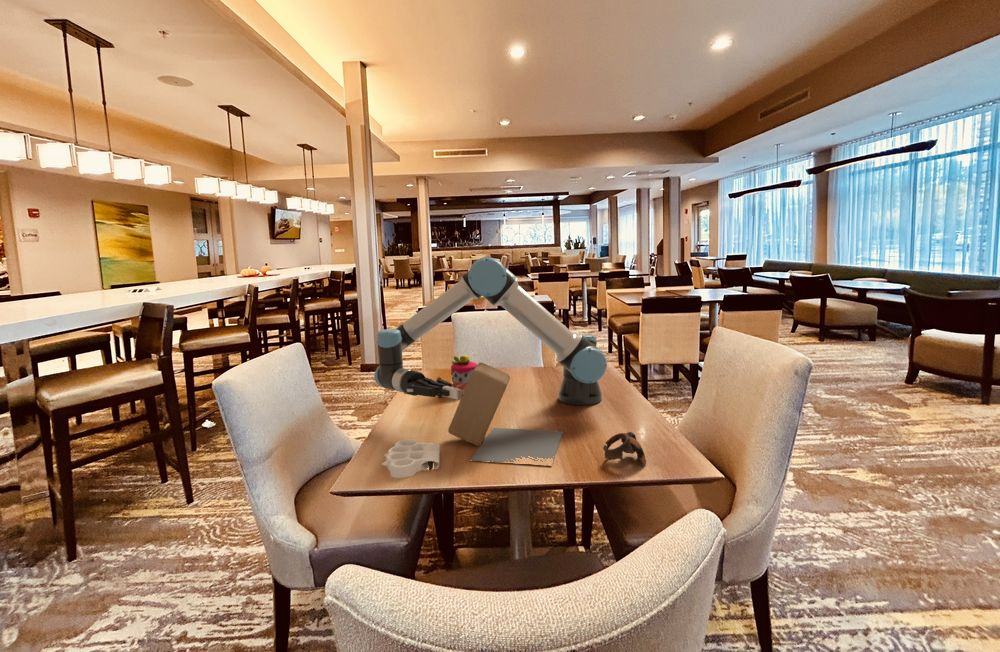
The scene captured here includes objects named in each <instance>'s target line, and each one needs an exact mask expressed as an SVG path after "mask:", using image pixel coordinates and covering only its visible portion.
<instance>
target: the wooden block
mask: <svg viewBox="0 0 1000 652" xmlns="http://www.w3.org/2000/svg"><path fill="white" fill-rule="evenodd" d="M477 364H478V365H477V366H476V368H475V369H474V370H473V372H472V374H471V377H470V379H469V381H468V384H467V386H466V388H465V391H464V393H463V396H462V398H461V399H459V403H458V406H457V408H456V410H455V413H454V415H453V418H452V419H451V422H450V424H449V426H448V431H447V432H448V434H449V435H452V436H454V437H456V438H459V439H461V440H463V441H465V442H466V443H467V442H468V443H470V444H472V445H475V446H477V447H480V446H481V445H482V443H483V442H484V440H485V438H486V437H485V436H486V434H487V432H488V430H489V427H490V425H491V423H492V421H493V419H494V417H495V414H496V412H497V409H498V408H499V405H500V404H501V400H502V398H503V395H504V394H505V392H506V389H507V387H508V384H509V382H510V380H511V376H510V375H509V373H506V372H504V371H503V370H499V369H497V368H495V367H494V366H490V365H488V364H487V363H484V362H478V363H477Z"/></svg>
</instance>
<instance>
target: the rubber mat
mask: <svg viewBox="0 0 1000 652" xmlns="http://www.w3.org/2000/svg"><path fill="white" fill-rule="evenodd" d="M562 434H564V431H562V430H543V429H541V430H540V429H524V428H522V429H521V428H505V427H504V428H503V427H493V428H491V430H490V432H489V433H488V435H487V436H486V437H485V438H484V439H483V441H482V444H481V445H480V446H478V448H477V450H476V452H474V454H473V456H471V458H470V460H472V461H471V462H473V461H490V462H492V461H493V462H505V461H506V462H508V461H509V462H514V461H513V460H515V461H516V459H515V458H520V459H522V457H525V458H529V457H528V456H530V457H533V458H535V459H537V457H538V458H543V459H545V458H546V459H548V458H550V459H551V458H554V457H556V455H557V452H558V449H559V447H560V443H561V441H562V438H561V437H563V435H562ZM557 448H558V449H557ZM556 451H557V452H556ZM555 454H556V455H555ZM521 456H522V457H521ZM553 456H554V457H553ZM507 459H508V460H507ZM511 459H513V460H511ZM529 459H532V458H529ZM535 459H532V460H534V461H538V460H539V459H538V460H535ZM554 459H555V458H554ZM518 461H519V460H518ZM540 461H542V460H540ZM545 461H546V460H545ZM542 462H543V461H542Z"/></svg>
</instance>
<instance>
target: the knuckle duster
mask: <svg viewBox="0 0 1000 652" xmlns="http://www.w3.org/2000/svg"><path fill="white" fill-rule="evenodd" d="M440 446H441V445H439V444H438V443H436V442H419V441H418V440H417V439H411V438H410V439H408V438H406V439H401V440H399V441H397V442H395V445H394V446H392V447H390V448H389V449H388V451H387V453H385V454H384V455H383V456H384V457H385V458H386V460H385V461H384V462H382V463H381V464H380V465H381V466H385V467H386V468H387V470H388V471H389V473H390V477H392V478H394V477H396V478H395V479H406V478H410V477H413V476H414V475H416V473H418V472H422V471H421V470H424V471H426V470H428V469H427V468H428V461H429V462H433V461H434V469H435V470H437V469H439V467H440V457H441V455H440V452H441V447H440ZM409 476H410V477H409ZM405 477H406V478H405Z"/></svg>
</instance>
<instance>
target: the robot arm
mask: <svg viewBox="0 0 1000 652" xmlns="http://www.w3.org/2000/svg"><path fill="white" fill-rule="evenodd" d="M482 297H483V298H484V299H485V300H487V302H489V303H490V304H491V305H493V306H495V307H496V306H500V307H501V308H502V309H505V310H506V312H508V313H509V314H510V315H511V316H512V317H513V318H514V319H515V320H517V321H518V322H519V323H520V325H521V324H522V326H524V327H525V328H526V329H527V330H528V331H529V332H530V333H532V334H533V335H534V337H536V338H537V339H538V340H540V341H541V342H542V343H543V344H544V345H546V346H547V348H549V349H550V350H552V352H553V353H555V355H556V361H557V362H558V363H559V364H560V365H562V368H563V369H562V370H563V371H562V372H563V378H562V381H561V385H560V388H559V391H558V400H559V401H560V402H561V403H564V404H568V405H574V406H575V405H576V406H588V405H589V406H590V405H595V404H598V403H600V402H601V401H602V400H603V394H602V390H601V388H600V383H599V380H601V379H602V378H603V376H604V375H605V374H606V372H607V367H608V362H607V358H606V356H605V353H603V351H602V350H600V349H599V348H598V347H597V344H598V341H597V336H595V335H593V334H591V335H590V334H589V335H587V334H585V335H584V334H582V333H573V332H572V331H571V330H570V328H568V327H567V326H566V325H564V324H563V323H562V322H561V321H560V320H559V319H558V318H556V317H555V315H553V314H552V313H551V312H549V311H548V309H546V308H545V307H544V306H543V305H542V304H541V303H540V302H538V301H537V300H536V299H535V298H533V297H532V296H531V294H529V292H527V291H526V290H525V289H523V287H522V286H520V285H519V279H518V277H517V276H516V275H515V274H514V273H513V272H511V271H510V270H509V269H508V268H507V267H506V266H505V265H504V264H503V263H502V262H501V261H500V260H498V259H497V258H494V257H491V256H484V257H480V258H478V259H476V260H475V261H474V262H473V263H472V265H471V266H470V268H469V270H468V271H467V272H466V273H464V274H462V275H461V277H460V280H459V281H458V282H456V283H455V284H454V285H453V286H451V287H450V288H448V289H447V290H446V291H445V292H443V293H442V294H441V295H439V296H438V297H436V298H435V299H433V301H431V302H430V303H428V304H427V305H426V306H424V307H423V308H421V309H420V310H419V311H418V312H416V313H415V314H413V315H412V316H411V317H410V318H407V320H406V321H404V322H403V323H402V324H400V325H399V326H397V327H396V328H386V329H383V330H382V329H381V330H379V331H378V332H377V337H376V338H377V339H376V340H377V341H376V344H377V351H378V366H377V367H376V369H375V371H374V375H373V379H374V381H375V383H376V384H377V385H378V386H380V387H382V388H384V389H386V390H387V389H388V390H392V391H396V392H399V393H403V394H404V395H409V396H414V397H415V396H423V397H429V398H436V396H437V397H438V399H443V397H444V398H445V397H446V398H448V399H453V400H457V401H458V400H459V401H460V400H461V398H462V393H461V389H458V388H454V387H452V384H453V383H451V382H449V381H447V380H444V379H442V378H441V377H439V376H438V377H436V379H432V378H429V377H426V376H425V374H424V373H422V372H421V371H418V370H417V371H416V370H413V369H410V368H409V369H408V368H405V367H404V363H403V362H404V360H403V352H404V350H405V349H406V348H408V347H409V346H411V345H412V344H415V342H416V341H418V340H419V339H420V338H422V337H423V336H424V335H425V334H427V333H428V332H430V331H431V330H432V329H434V328H436V326H438V325H439V324H441V323H442V322H444V321H445V320H446V319H448V318H449V317H450V316H452V315H453V314H454V313H456V312H457V311H459V310H460V309H461V308H463V307H464V306H466V305H467V304H468V303H470V302H471V301H473V299H476V300H478V299H480V298H482Z"/></svg>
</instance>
